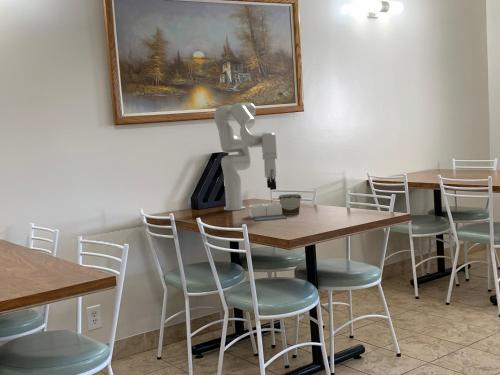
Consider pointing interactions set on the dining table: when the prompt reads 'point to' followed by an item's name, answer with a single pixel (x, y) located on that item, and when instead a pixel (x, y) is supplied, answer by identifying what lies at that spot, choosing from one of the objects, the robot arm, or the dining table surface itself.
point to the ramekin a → (257, 210)
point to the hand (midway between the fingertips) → (271, 188)
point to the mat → (269, 217)
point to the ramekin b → (273, 209)
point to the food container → (290, 203)
